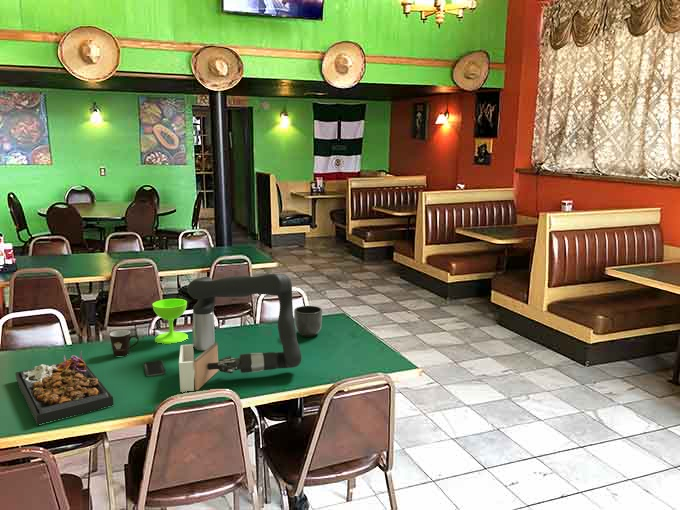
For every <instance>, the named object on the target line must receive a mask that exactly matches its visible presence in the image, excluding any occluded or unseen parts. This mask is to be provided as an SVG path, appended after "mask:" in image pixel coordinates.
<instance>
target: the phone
mask: <svg viewBox="0 0 680 510" xmlns="http://www.w3.org/2000/svg"><path fill="white" fill-rule="evenodd" d="M163 361H164V360H161V359H160V360H153V361H146V362H143V368H144V374H146V375H145V377H146V376H152V377H157V376H156V375H159V376H164V374H165V373H167V372H166V368H165V366H164V362H163ZM165 375H166V374H165Z"/></svg>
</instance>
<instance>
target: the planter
mask: <svg viewBox="0 0 680 510" xmlns="http://www.w3.org/2000/svg"><path fill="white" fill-rule="evenodd" d="M293 319H294V325H295V330H296V332H298V334H299V335H300V336H301V337H306V338H311V337H315V336H317V334H319V332H320V331H321V329H322V322H323V309H322V308H321V307H319V306H316V305H315V306H314V305H302V306H298V307H296V308H294V309H293Z"/></svg>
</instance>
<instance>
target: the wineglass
mask: <svg viewBox="0 0 680 510" xmlns="http://www.w3.org/2000/svg"><path fill="white" fill-rule="evenodd" d="M187 304H188V301H187V300H185V299H181V298H166V299H160V300H156V301H154V302H153V303H152V304H151V305H152V309H153V312H154V313H155V314H156V315H157V316H158V317H159V318H160V319H162V320H166V321H167V320H168V332H163V333H161V334H159V335H157V336H156V337H155V338H154V342H155V343H156V342H157V343H156V344H158V343H162V344H161V345H165V344H169V345H172V344H171V343H177V342H182V341H184V340H186V339H188V340H189V338H188V336H189V335H188V334H187V333H185V332H181V331H174V320H176V319H178V318H180V317H181V316H183V315H184V313H185V312H186V309H187ZM186 341H187V340H186ZM184 342H185V341H184ZM163 343H164V344H163ZM182 343H183V342H182Z"/></svg>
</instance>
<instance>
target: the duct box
mask: <svg viewBox="0 0 680 510" xmlns="http://www.w3.org/2000/svg"><path fill="white" fill-rule="evenodd" d="M179 348H180V349H179V358H178V368H179V369H178V371H179V372H178V373H179V388H180V392H182V393H183V392H185V391H186V392H185V393H188V392H187V391H194V392H195V371H194V359H195V352H194V348H193V343H192V344H191V343H190V344H180V346H179ZM182 393H181V394H182ZM183 394H184V393H183Z"/></svg>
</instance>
